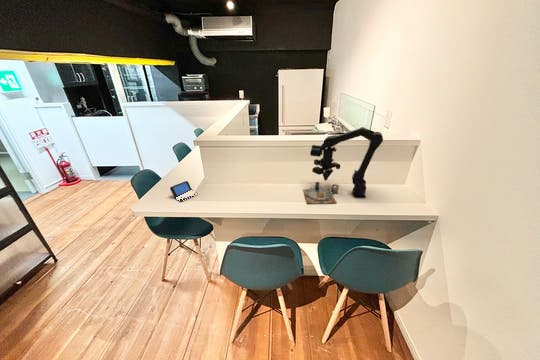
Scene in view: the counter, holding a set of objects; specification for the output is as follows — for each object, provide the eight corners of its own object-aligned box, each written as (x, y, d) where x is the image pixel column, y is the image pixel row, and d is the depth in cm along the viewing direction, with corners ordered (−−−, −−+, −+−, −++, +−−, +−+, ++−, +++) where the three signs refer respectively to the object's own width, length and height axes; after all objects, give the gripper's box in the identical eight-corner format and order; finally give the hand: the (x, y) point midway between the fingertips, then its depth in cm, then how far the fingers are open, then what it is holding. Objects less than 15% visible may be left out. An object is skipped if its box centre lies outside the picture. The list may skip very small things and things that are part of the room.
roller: (336, 191, 137) (337, 184, 135) (338, 194, 133) (339, 187, 131) (330, 191, 137) (330, 184, 135) (331, 194, 134) (332, 187, 131)
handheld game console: (181, 203, 128) (178, 192, 125) (171, 197, 134) (169, 187, 131) (198, 194, 137) (197, 184, 134) (189, 190, 143) (187, 180, 140)
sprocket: (328, 189, 137) (329, 181, 135) (335, 200, 124) (336, 192, 121) (303, 189, 137) (304, 181, 135) (307, 201, 124) (308, 193, 121)
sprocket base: (328, 190, 139) (329, 188, 138) (336, 203, 123) (336, 202, 123) (302, 190, 139) (303, 189, 138) (307, 204, 123) (307, 202, 123)
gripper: (329, 151, 140) (327, 173, 147) (307, 156, 132) (306, 179, 138) (342, 156, 131) (339, 178, 138) (319, 161, 123) (317, 185, 130)
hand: (325, 180), depth 136 cm, fingers closed
